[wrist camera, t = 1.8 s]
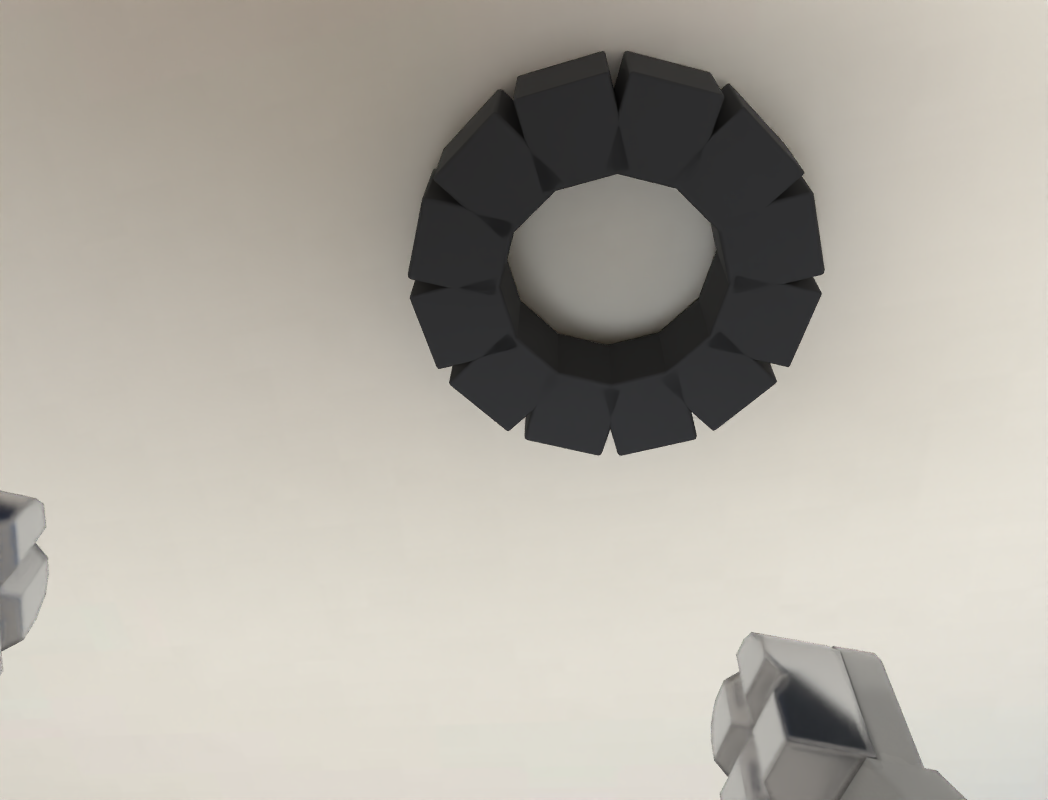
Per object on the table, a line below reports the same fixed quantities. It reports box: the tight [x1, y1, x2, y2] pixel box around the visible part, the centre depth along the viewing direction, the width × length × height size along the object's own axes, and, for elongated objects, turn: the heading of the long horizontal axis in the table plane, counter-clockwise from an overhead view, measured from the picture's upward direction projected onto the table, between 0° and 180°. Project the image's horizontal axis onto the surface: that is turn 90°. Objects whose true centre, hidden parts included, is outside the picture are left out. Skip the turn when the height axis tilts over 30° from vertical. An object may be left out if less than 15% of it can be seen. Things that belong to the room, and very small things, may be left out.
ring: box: [408, 51, 825, 456], centre depth 23 cm, size 10×10×2 cm
